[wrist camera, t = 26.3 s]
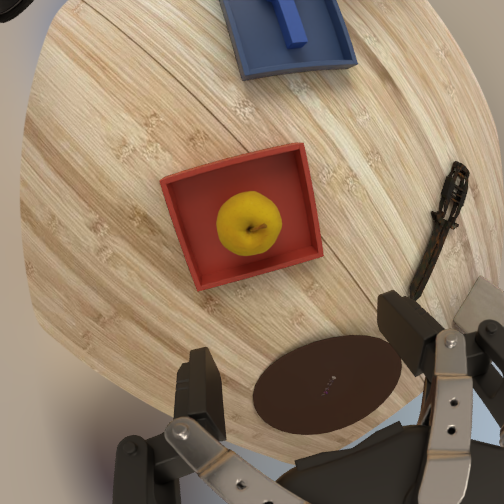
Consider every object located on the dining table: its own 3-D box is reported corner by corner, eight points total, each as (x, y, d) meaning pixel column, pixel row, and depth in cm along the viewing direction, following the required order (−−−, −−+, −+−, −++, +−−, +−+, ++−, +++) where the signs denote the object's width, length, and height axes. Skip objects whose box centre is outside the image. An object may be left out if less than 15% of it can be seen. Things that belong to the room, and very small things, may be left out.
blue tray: (242, 81, 26) (244, 75, 24) (211, -24, 20) (211, -34, 18) (348, 68, 27) (358, 64, 24) (312, -30, 20) (319, -39, 18)
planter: (458, 288, 43) (523, 342, 25) (481, 274, 43) (543, 321, 25) (447, 345, 49) (494, 399, 31) (469, 331, 49) (515, 378, 32)
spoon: (312, 47, 25) (319, 41, 23) (275, 50, 25) (280, 44, 23) (286, -23, 21) (291, -31, 18) (252, -21, 20) (255, -30, 18)
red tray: (198, 279, 35) (197, 291, 32) (164, 176, 29) (159, 180, 26) (315, 246, 35) (323, 256, 32) (295, 142, 30) (303, 142, 27)
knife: (411, 306, 42) (415, 310, 41) (387, 299, 40) (391, 304, 39) (470, 175, 34) (476, 176, 33) (451, 156, 33) (457, 157, 31)
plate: (279, 320, 39) (285, 336, 35) (416, 328, 44) (426, 339, 41) (238, 427, 48) (240, 441, 45) (354, 420, 54) (359, 432, 50)
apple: (279, 193, 31) (299, 209, 24) (263, 245, 33) (278, 275, 26) (223, 179, 30) (227, 191, 22) (210, 233, 32) (209, 261, 25)
